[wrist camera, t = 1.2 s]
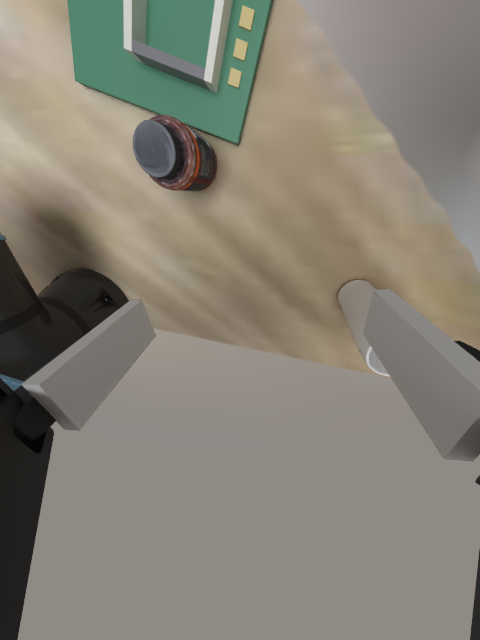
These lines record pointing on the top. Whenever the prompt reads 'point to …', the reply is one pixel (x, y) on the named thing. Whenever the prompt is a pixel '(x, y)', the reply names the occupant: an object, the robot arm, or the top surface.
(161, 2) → the board
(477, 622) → the robot arm
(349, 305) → the drinking glass
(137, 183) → the top surface
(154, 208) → the top surface
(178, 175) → the supplement bottle
